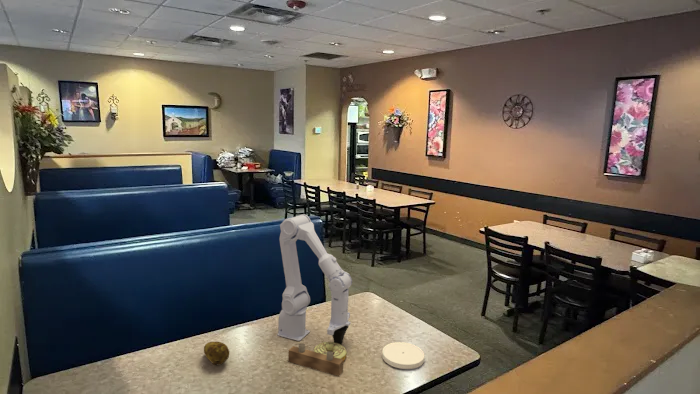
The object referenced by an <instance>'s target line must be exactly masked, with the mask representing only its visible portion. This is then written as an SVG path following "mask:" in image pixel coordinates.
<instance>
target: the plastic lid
mask: <svg viewBox="0 0 700 394" xmlns="http://www.w3.org/2000/svg"><path fill="white" fill-rule="evenodd" d="M381 357H382V360H383V361H384V362H385V363H387V365H389V366H391V367H394V368H396V369H401V370H402V369H403V370H412V369H417V368H419V367H421V366H422V365H423V364H424V362H425V352H424V351H423V349H421V348H420V347H419V346H417V345H415V344H413V343H409V342H403V341H400V342H399V341H396V342H391V343H388V344H386V345H385V346H383V347H382V349H381Z"/></svg>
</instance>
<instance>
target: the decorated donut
mask: <svg viewBox="0 0 700 394" xmlns="http://www.w3.org/2000/svg"><path fill="white" fill-rule="evenodd" d="M313 351H314V352H317V353H321V354H324V355H327V352H328V351H332V352H333V357H335V358H339V359H343V363H344V362H345V360H346V357H347V354H348V352H347V349H346V348H345V347H344V346H343V344H342V345H341V344H338V343H335V342H334V341H323V342H320V343H318V344H317V345H316V346H314V348H313Z"/></svg>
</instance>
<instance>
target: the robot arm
mask: <svg viewBox="0 0 700 394" xmlns="http://www.w3.org/2000/svg"><path fill="white" fill-rule="evenodd" d="M279 228H280V234H279V239H278V240H279V246H280V252H281V260H282V267H283V273H284V277H285V278H284V280H285V289H284V291H283V293H282V295H281V296H282V302H281V310H280V311H279V315H278V321H277V322H278V324H277V325H278V326H277V327H278V332H277V334H276V335H277V336H279V337H282V338H285V339H289V340H294V341H297V342H300V341H302V340H303V339H304V338H305V337H306V336H308V334H309V333H310V332H311V331H310V330H308V329H306V323H307V322H306V321H307V320H306V319H307V318H306V315H307V308H308V307H307V306H309V305H310V303H311V296H310V295H309V292H308V289H307V287H306V286H305V285H303V284H302V277H301V276H302V275H301V271H300V263H299V257H298V251H297V241H298V240H300V241H305V243H306V244H307V245H308V246H309V248H310V249H311V251H312V252H313V253H314V255H315V256H316V257H317V259H318V266H319V268H320V269H321V271H322V273H323V274H324V275H325V277H326V279H327V280H328V281H329V283H328V285H327V286H328V289H329V291H330V292H331V293H330V296H331V298H330V299H331V300H330V301H331V302H330V303H331V304H330V319H329V324H328V327H327V329H326V335H328V336H332V340H333V342H335V343H338V344H341V345H342V346H343V343H344V342H343V341H344V338H345V335H346V332H347V330H348V329H349V326H350V325H351V324H352V323H351V321H349V319H350V317H351V312H349V292H350V290H349V289H350V288H351V286H352V284H353V279H352V277H351V274H350V273H348V272H347V271H345V270H344V269H343V268H342V267H341V266H340V264H339V263H338V261H337V257H335V256H334V255H333V254H331V253H328V252H327V250H326V248H325V247H324V245H323V242H322V241H321V240H320V238H319V236H318V234H317V233H316V230H315V223H313V222H312V220H311V218H310V216H308V215H307V214H305V213H303V214H299V215H297V216H292V217H289V218H285V219H284V220H283V221H282V222H281V223H280V224H279Z"/></svg>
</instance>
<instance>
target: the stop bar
mask: <svg viewBox="0 0 700 394" xmlns="http://www.w3.org/2000/svg"><path fill="white" fill-rule="evenodd" d="M287 354H288V357H287V358H288V362H289V363H291V364H295V365H298V366H301V367H305V368H309V369H312V370H316V371H319V372H322V373H326V374H329V375H333V376H337V377H340V376H341V374H342V373H343V371H344V362H343V359H339V358H335V357H333V352H332V351H328V352H327V355H324V354H321V353H317V352H314V350H310V349H306V344H304V343H299V344H298V346H295V345H293V346H292V347H291V348H289V350H288V353H287Z"/></svg>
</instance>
